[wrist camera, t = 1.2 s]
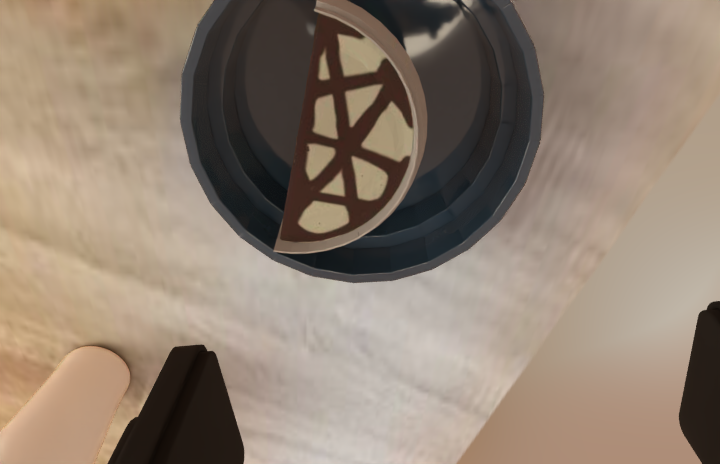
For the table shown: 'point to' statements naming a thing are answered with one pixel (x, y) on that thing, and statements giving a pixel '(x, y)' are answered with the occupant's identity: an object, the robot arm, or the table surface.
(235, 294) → the table surface
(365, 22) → the food container
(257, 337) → the table surface
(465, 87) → the bowl
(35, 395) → the drinking glass
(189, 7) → the table surface
